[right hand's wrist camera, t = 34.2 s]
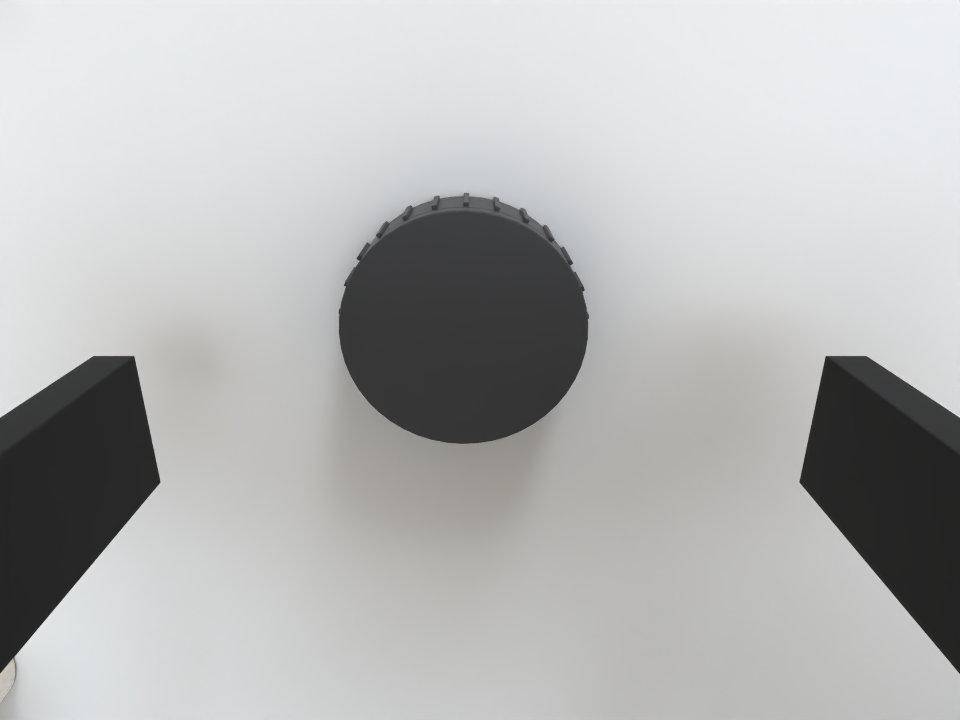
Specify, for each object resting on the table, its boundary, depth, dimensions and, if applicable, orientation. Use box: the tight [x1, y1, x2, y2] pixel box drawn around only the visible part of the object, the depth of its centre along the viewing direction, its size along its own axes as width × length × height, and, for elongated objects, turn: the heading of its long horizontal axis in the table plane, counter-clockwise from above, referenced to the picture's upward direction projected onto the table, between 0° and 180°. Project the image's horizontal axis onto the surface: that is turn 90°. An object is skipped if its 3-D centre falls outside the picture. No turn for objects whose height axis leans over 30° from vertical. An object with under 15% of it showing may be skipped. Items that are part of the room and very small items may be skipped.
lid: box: [339, 193, 589, 444], centre depth 15 cm, size 6×6×2 cm
